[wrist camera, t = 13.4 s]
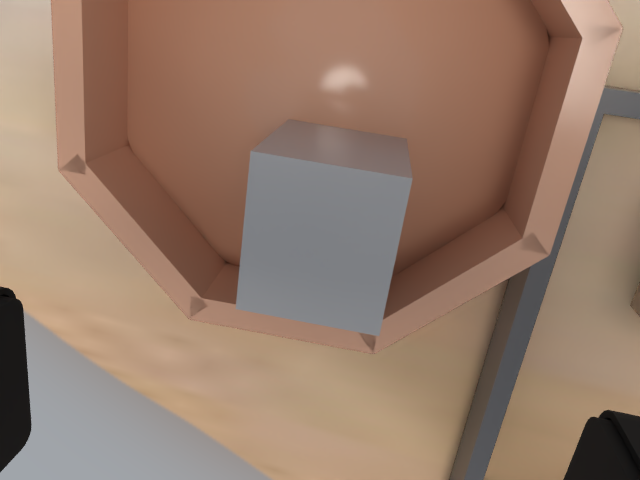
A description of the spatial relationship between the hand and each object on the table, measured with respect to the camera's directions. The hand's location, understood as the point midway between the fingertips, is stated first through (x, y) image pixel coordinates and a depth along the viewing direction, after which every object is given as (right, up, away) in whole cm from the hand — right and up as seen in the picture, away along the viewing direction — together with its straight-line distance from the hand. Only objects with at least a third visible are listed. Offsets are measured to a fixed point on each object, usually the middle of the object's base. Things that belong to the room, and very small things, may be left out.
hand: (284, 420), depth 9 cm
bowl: (+1, +9, +12) cm, 15 cm away
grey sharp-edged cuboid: (+1, +5, +12) cm, 13 cm away
